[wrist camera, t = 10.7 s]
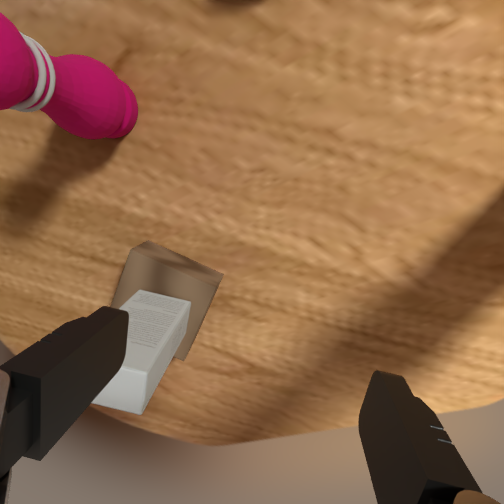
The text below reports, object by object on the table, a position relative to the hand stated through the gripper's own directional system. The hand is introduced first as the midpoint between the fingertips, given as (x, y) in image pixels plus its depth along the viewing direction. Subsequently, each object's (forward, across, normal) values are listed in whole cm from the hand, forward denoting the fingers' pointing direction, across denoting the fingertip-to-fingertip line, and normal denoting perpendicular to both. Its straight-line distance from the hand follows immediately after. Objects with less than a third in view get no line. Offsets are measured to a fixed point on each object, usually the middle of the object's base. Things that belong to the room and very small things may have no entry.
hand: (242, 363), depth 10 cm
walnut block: (+27, +11, +11) cm, 31 cm away
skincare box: (+22, +10, +11) cm, 27 cm away
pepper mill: (+26, +20, -9) cm, 35 cm away
